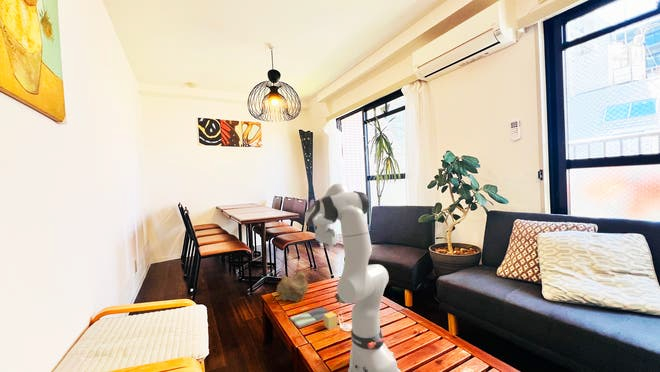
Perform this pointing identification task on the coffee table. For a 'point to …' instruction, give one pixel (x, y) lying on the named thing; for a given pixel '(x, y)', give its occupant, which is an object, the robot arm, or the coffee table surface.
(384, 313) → the coffee table surface
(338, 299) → the dark grey rock
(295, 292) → the rough brown rock
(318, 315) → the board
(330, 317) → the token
